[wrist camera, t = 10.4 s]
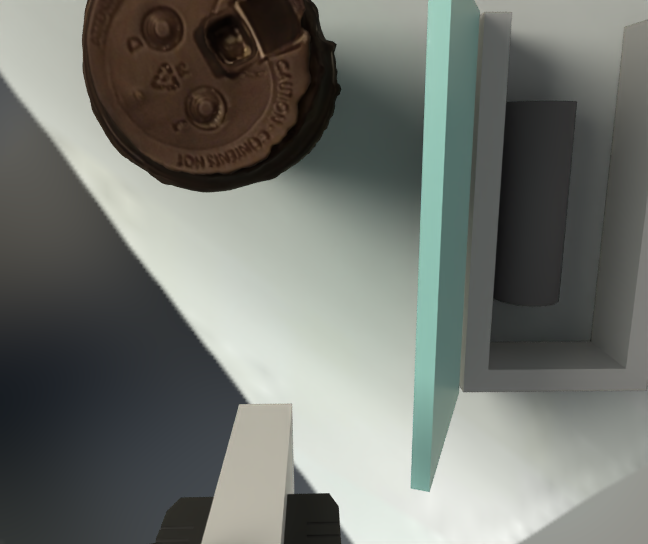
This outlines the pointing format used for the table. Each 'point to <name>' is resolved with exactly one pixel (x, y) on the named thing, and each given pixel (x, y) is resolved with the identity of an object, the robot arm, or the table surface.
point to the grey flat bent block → (615, 255)
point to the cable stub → (533, 201)
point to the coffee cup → (209, 86)
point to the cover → (443, 226)
